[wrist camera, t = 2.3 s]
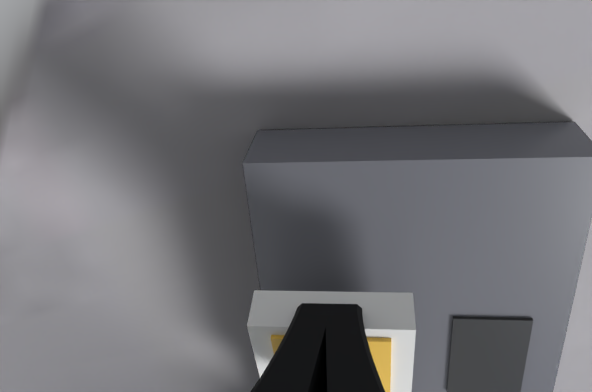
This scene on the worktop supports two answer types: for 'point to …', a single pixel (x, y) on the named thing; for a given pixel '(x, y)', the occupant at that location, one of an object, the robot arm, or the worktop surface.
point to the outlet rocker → (376, 317)
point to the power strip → (435, 236)
